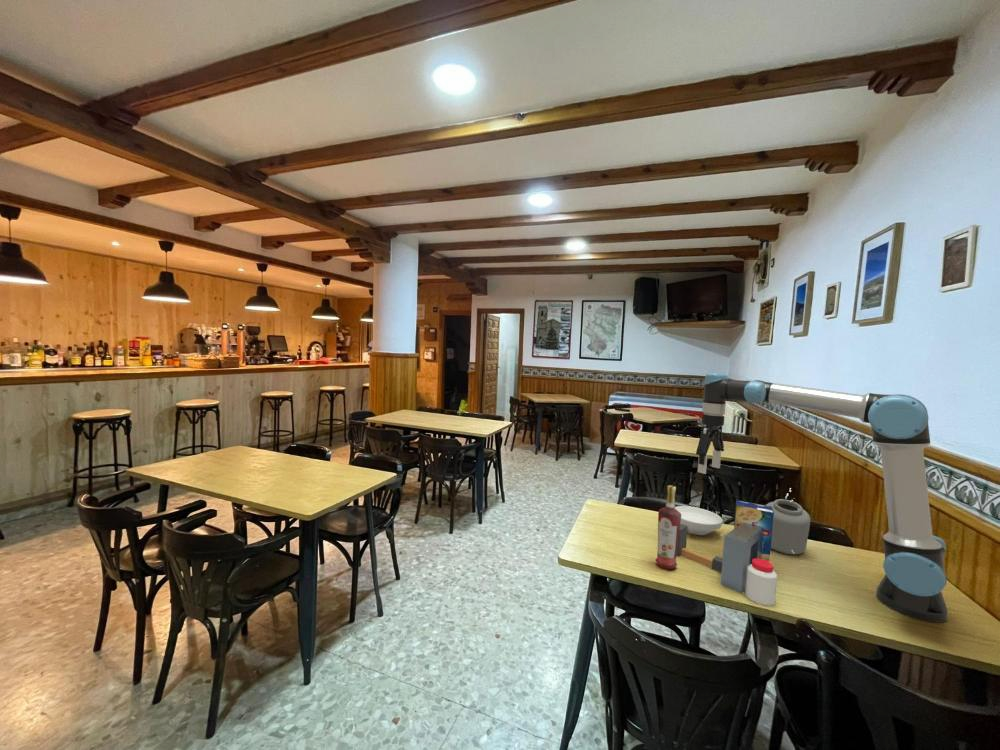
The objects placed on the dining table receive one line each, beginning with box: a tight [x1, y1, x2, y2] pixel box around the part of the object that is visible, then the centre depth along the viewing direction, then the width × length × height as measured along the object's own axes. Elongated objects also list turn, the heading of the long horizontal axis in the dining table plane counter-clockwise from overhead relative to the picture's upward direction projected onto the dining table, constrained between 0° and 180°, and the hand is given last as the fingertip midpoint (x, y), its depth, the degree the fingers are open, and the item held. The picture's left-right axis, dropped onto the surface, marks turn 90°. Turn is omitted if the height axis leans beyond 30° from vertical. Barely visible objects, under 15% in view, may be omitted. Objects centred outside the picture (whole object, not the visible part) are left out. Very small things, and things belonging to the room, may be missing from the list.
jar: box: [765, 487, 811, 562], centre depth 156 cm, size 19×15×25 cm
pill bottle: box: [744, 558, 778, 607], centre depth 123 cm, size 8×8×11 cm
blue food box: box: [733, 499, 774, 563], centre depth 142 cm, size 7×11×22 cm, turn 61°
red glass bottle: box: [655, 484, 681, 570], centre depth 139 cm, size 7×7×28 cm
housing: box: [720, 523, 764, 594], centre depth 134 cm, size 6×20×16 cm, turn 132°
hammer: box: [676, 524, 723, 574], centre depth 145 cm, size 20×6×10 cm, turn 42°
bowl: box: [675, 505, 723, 536], centre depth 170 cm, size 20×20×7 cm
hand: (709, 470), depth 152 cm, fingers open, 13 cm apart
